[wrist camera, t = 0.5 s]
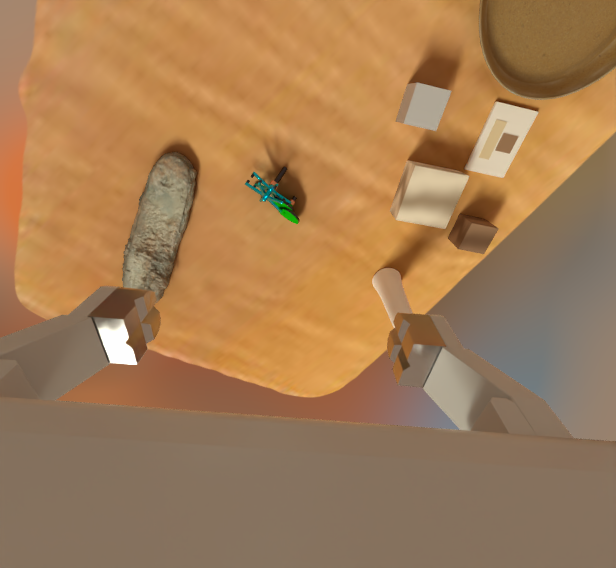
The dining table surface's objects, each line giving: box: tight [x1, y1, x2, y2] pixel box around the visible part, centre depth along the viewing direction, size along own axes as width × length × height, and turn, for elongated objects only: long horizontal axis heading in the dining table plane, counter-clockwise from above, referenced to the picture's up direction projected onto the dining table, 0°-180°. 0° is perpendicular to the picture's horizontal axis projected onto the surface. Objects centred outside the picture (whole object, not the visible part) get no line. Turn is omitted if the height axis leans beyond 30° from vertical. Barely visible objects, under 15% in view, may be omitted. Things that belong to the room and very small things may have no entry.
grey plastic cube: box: [396, 83, 451, 131], centre depth 43 cm, size 5×5×5 cm
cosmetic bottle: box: [372, 268, 413, 328], centre depth 53 cm, size 6×6×22 cm
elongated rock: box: [122, 152, 197, 303], centre depth 56 cm, size 35×5×10 cm
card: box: [464, 102, 538, 178], centre depth 47 cm, size 10×7×1 cm
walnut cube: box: [448, 214, 498, 254], centre depth 54 cm, size 5×5×5 cm
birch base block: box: [390, 160, 469, 229], centre depth 50 cm, size 9×9×5 cm
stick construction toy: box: [245, 167, 299, 224], centre depth 51 cm, size 12×7×8 cm
